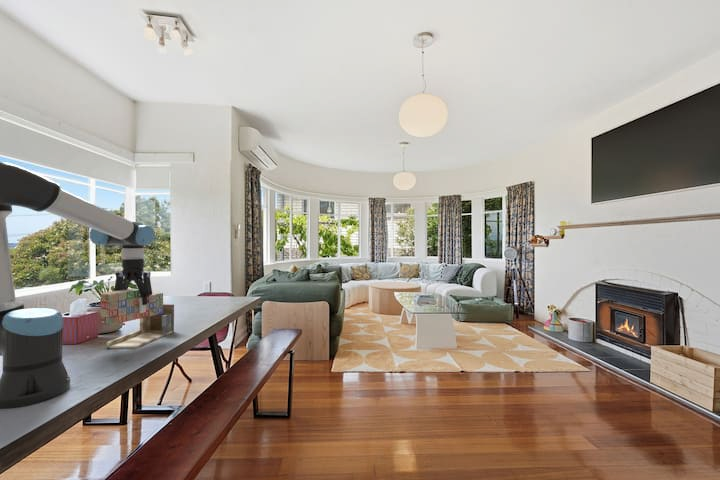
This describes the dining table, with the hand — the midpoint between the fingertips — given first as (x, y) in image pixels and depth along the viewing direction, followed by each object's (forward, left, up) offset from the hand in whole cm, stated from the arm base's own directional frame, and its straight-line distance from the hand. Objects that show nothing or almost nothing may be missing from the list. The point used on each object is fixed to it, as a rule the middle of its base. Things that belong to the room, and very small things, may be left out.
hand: (133, 312), depth 133 cm
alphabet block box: (+10, 0, -13) cm, 16 cm away
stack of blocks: (0, 0, -3) cm, 3 cm away
